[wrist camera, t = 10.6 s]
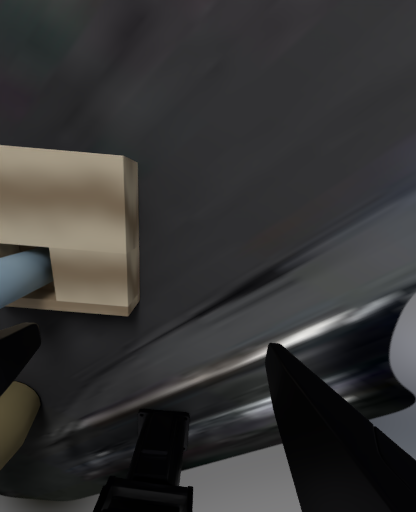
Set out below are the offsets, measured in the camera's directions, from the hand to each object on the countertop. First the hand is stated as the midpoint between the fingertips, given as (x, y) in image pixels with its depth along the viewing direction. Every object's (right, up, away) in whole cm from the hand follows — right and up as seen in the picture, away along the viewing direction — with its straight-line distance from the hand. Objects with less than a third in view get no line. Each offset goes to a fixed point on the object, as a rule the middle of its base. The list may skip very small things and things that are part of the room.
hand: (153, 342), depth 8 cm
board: (-12, +6, +12) cm, 17 cm away
